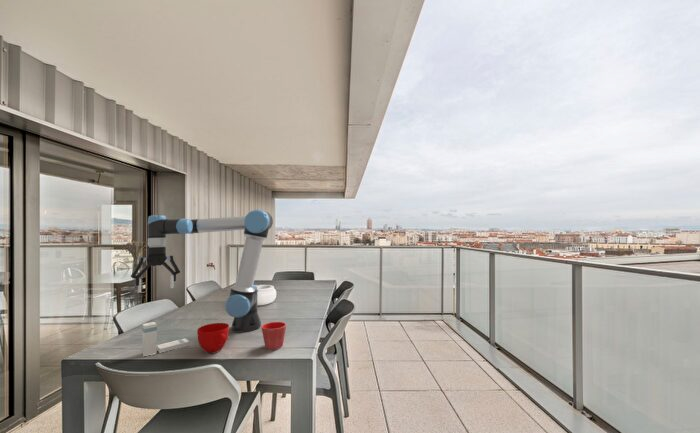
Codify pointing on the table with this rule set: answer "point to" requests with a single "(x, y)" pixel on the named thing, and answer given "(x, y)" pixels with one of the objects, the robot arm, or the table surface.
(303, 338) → the table surface
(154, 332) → the stub
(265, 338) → the flower pot
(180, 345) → the strip
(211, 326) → the ceramic cup
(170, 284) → the robot arm
